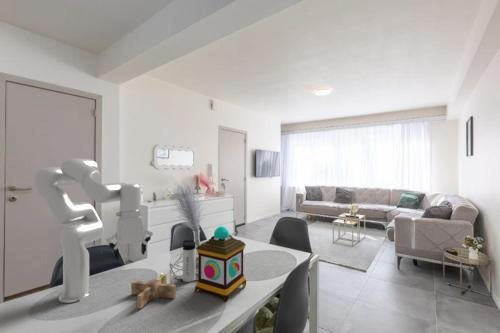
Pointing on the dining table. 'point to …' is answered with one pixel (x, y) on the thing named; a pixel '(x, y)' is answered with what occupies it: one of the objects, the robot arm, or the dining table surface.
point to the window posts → (170, 278)
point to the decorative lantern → (220, 264)
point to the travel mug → (189, 261)
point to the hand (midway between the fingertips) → (130, 255)
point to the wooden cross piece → (152, 290)
